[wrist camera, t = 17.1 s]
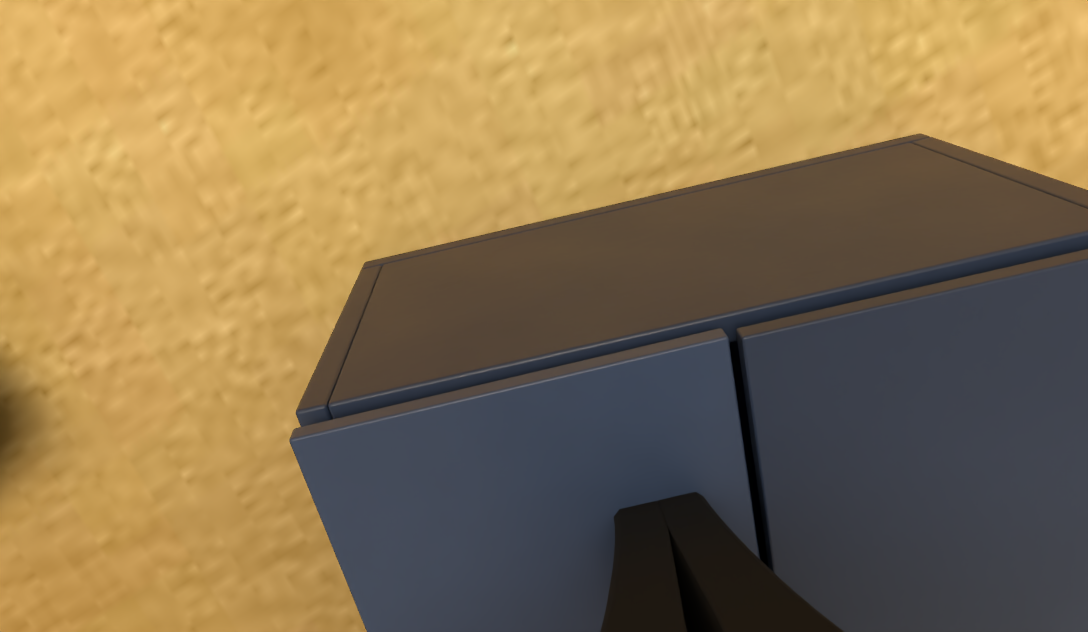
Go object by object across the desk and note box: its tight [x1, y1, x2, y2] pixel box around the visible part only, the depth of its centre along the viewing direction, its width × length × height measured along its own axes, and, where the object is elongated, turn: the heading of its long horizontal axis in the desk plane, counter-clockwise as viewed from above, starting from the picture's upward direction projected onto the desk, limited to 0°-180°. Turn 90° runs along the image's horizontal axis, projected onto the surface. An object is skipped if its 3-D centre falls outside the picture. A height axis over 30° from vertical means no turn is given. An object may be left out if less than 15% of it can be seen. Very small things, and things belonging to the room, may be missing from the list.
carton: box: [296, 134, 1088, 632], centre depth 17 cm, size 13×13×8 cm
